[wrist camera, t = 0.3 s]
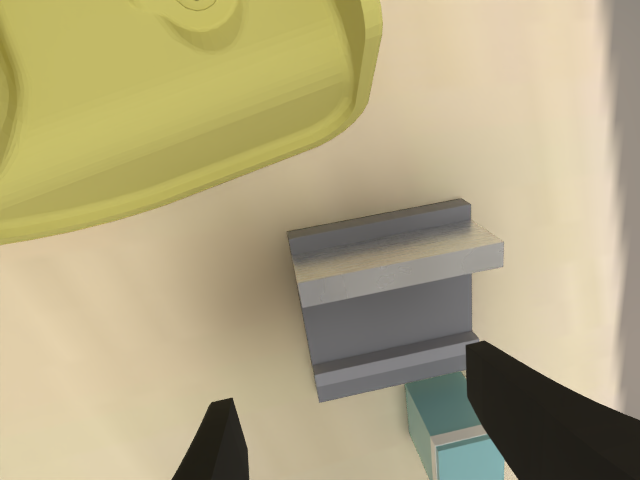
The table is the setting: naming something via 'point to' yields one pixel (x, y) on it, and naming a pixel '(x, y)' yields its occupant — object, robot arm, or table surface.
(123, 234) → the table surface
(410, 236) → the rail
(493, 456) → the block
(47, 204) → the plastic component
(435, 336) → the grey stand with lip
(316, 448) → the table surface
